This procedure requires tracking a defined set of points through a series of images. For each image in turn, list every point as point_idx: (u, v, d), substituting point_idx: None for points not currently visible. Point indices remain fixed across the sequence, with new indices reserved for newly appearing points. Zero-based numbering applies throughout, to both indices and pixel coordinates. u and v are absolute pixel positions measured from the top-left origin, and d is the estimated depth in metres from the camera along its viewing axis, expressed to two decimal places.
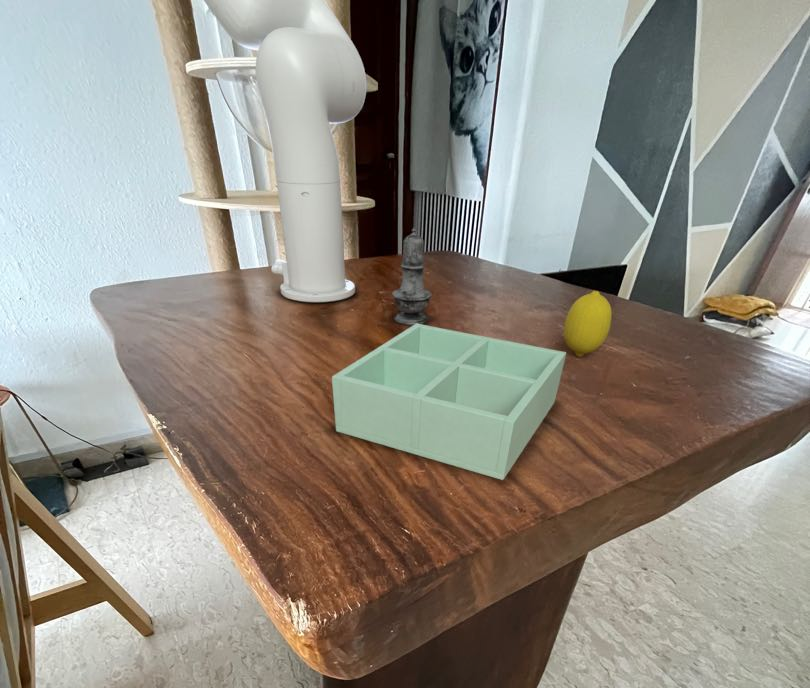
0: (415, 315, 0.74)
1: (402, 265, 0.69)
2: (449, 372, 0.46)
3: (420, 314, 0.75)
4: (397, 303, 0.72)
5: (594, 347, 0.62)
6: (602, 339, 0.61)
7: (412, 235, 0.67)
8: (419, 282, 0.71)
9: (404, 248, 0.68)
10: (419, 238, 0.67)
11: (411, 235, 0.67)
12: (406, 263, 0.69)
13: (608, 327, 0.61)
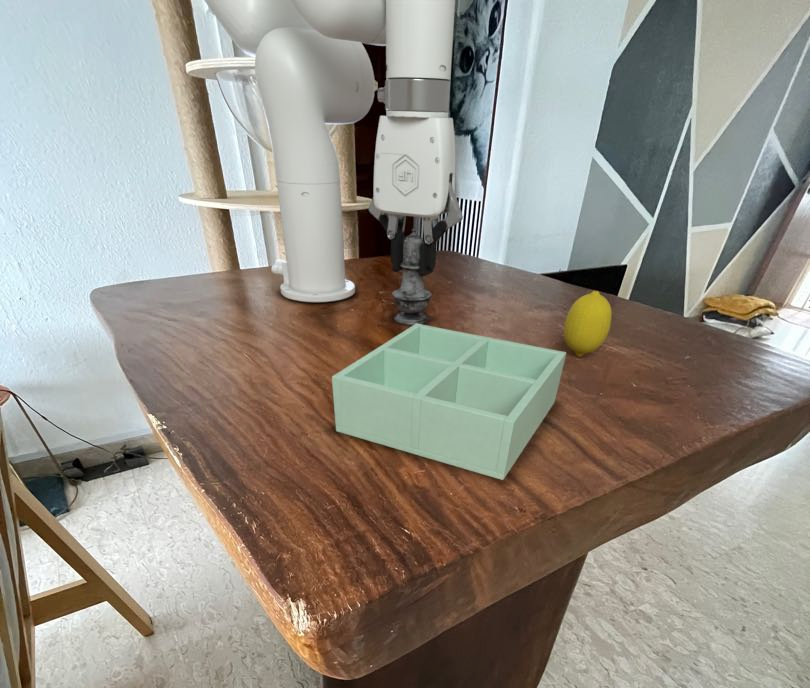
0: (415, 315, 0.74)
1: (402, 265, 0.69)
2: (449, 372, 0.46)
3: (420, 314, 0.75)
4: (397, 303, 0.72)
5: (594, 347, 0.62)
6: (602, 339, 0.61)
7: (412, 235, 0.67)
8: (419, 282, 0.71)
9: (404, 248, 0.68)
10: (419, 238, 0.67)
11: (410, 235, 0.67)
12: (406, 263, 0.69)
13: (608, 327, 0.61)
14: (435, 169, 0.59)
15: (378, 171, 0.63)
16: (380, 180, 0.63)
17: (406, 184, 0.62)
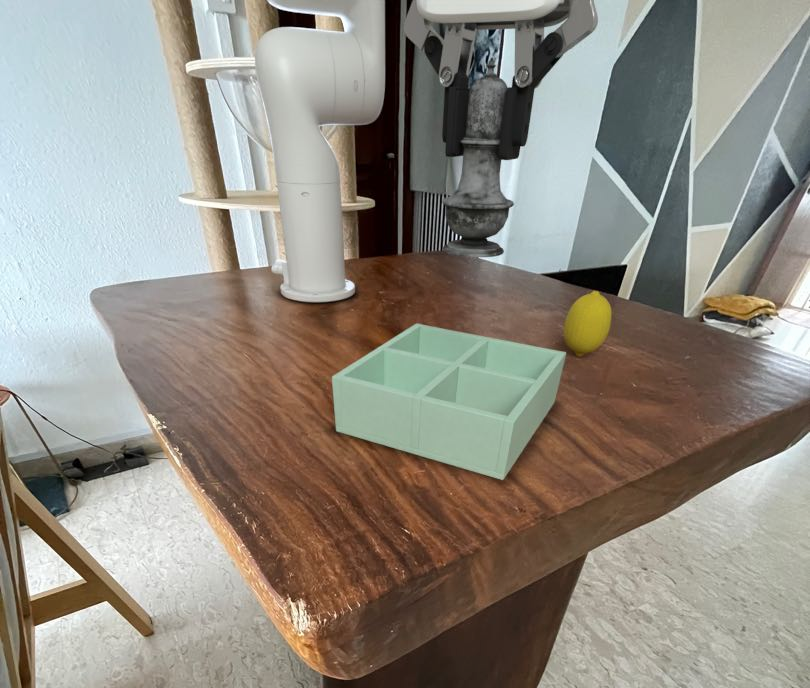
0: (482, 242, 0.41)
1: (465, 140, 0.37)
2: (449, 372, 0.46)
3: (488, 242, 0.43)
4: (452, 217, 0.40)
5: (594, 347, 0.62)
6: (602, 339, 0.61)
7: (488, 75, 0.35)
8: (495, 175, 0.38)
9: (471, 103, 0.36)
10: (501, 81, 0.35)
11: (485, 75, 0.35)
12: (473, 135, 0.37)
13: (608, 327, 0.61)
14: None
15: None
16: None
17: None
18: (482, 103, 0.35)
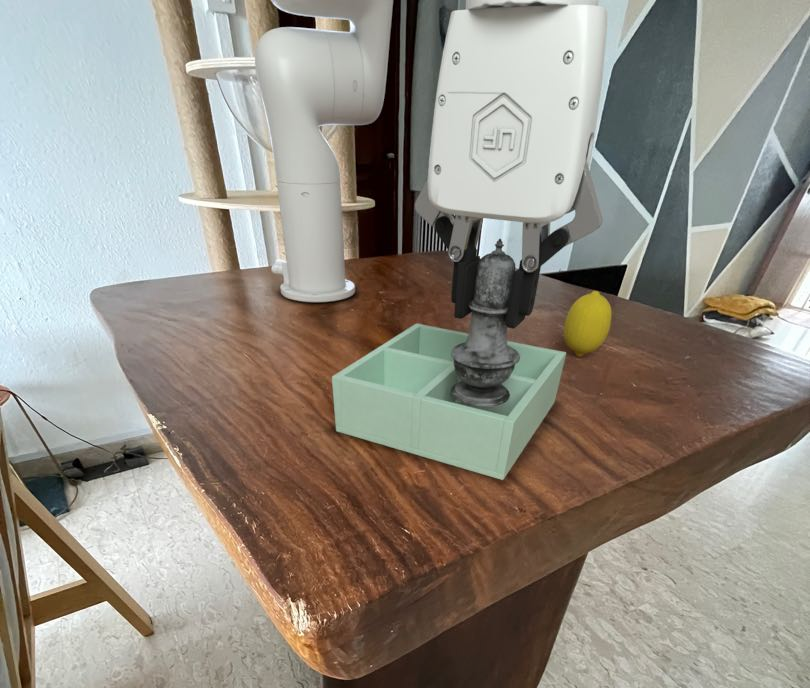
0: (489, 389, 0.43)
1: (473, 307, 0.38)
2: (449, 372, 0.46)
3: None
4: (460, 371, 0.41)
5: (594, 347, 0.62)
6: (602, 339, 0.61)
7: (496, 254, 0.36)
8: (502, 336, 0.40)
9: (479, 277, 0.37)
10: (509, 259, 0.36)
11: (493, 253, 0.36)
12: (481, 304, 0.38)
13: (608, 327, 0.61)
14: (567, 123, 0.29)
15: (441, 131, 0.32)
16: (445, 148, 0.32)
17: (499, 156, 0.31)
18: (490, 279, 0.37)
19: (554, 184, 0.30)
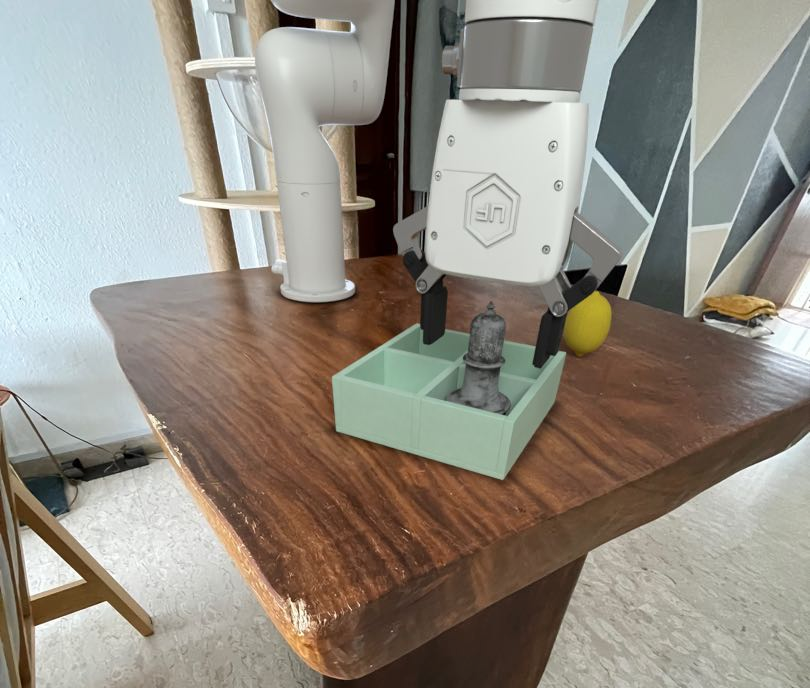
0: None
1: (467, 361, 0.41)
2: (449, 372, 0.46)
3: None
4: None
5: (594, 347, 0.62)
6: (602, 339, 0.61)
7: (488, 315, 0.39)
8: (494, 387, 0.43)
9: (472, 335, 0.40)
10: (500, 320, 0.39)
11: (485, 314, 0.39)
12: (474, 359, 0.41)
13: (608, 327, 0.61)
14: (552, 202, 0.31)
15: (437, 202, 0.34)
16: (441, 218, 0.35)
17: (490, 227, 0.33)
18: (482, 338, 0.40)
19: (541, 254, 0.33)
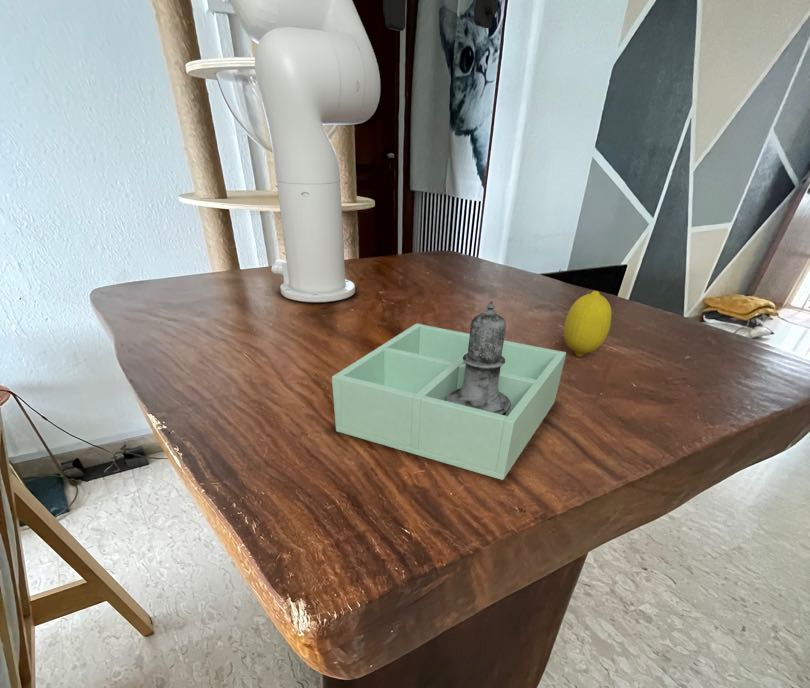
0: None
1: (467, 361, 0.41)
2: (449, 372, 0.46)
3: None
4: None
5: (594, 347, 0.62)
6: (602, 339, 0.61)
7: (488, 315, 0.39)
8: (494, 387, 0.43)
9: (472, 335, 0.40)
10: (500, 320, 0.39)
11: (485, 314, 0.39)
12: (474, 358, 0.41)
13: (608, 327, 0.61)
14: None
15: None
16: None
17: None
18: (482, 338, 0.40)
19: None
